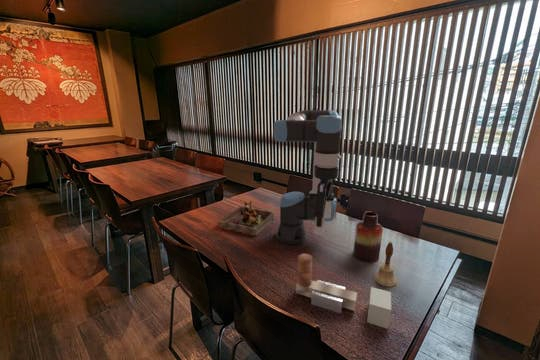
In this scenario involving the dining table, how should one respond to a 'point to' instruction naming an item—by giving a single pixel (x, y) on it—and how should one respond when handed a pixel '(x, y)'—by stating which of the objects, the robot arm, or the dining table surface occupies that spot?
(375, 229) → the vase
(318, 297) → the sleeve
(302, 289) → the sliding bolt with handle
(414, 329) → the dining table surface
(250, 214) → the bear figurine
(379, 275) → the hand bell
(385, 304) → the white upright block
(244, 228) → the shallow square tray
